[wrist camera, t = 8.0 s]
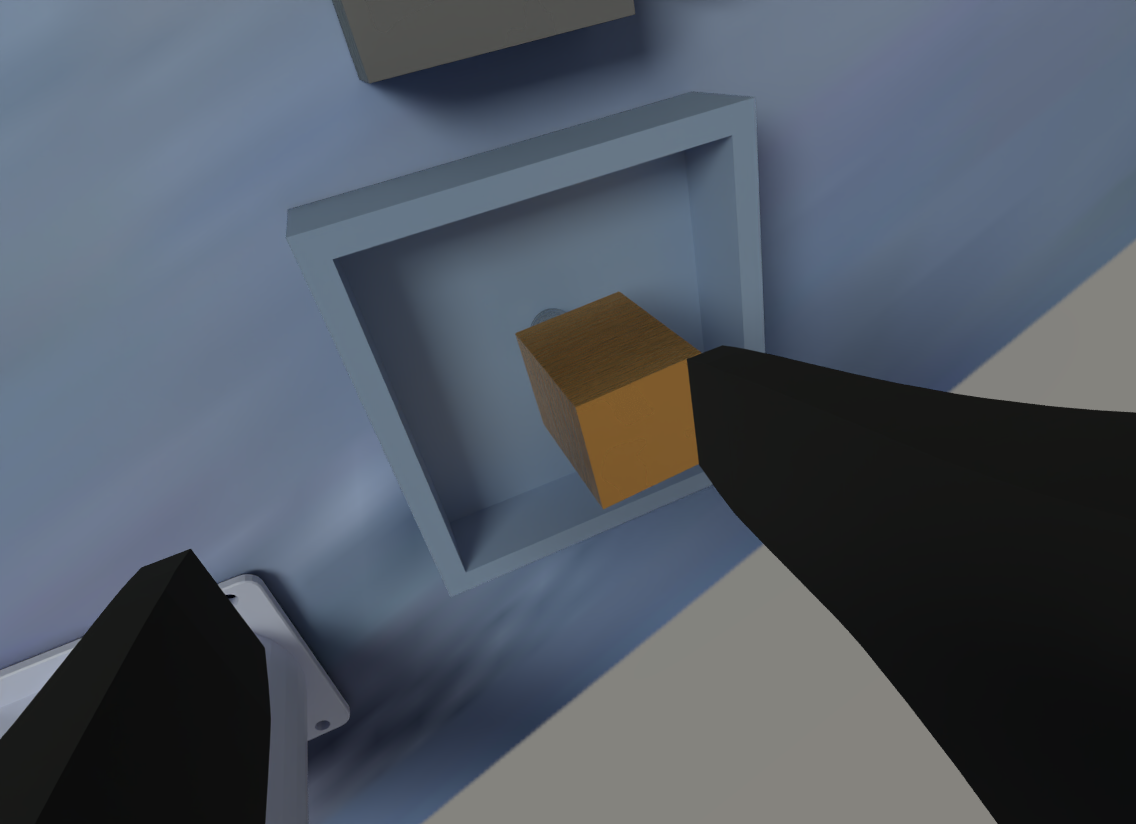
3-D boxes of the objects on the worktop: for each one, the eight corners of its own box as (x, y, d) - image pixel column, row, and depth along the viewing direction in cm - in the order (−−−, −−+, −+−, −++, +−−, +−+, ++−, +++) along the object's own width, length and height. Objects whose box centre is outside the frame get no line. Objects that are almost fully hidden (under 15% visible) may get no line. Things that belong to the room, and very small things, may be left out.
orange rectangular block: (517, 387, 20) (602, 509, 15) (489, 302, 18) (575, 407, 13) (603, 351, 20) (713, 456, 15) (584, 265, 19) (701, 352, 14)
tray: (433, 536, 22) (450, 597, 19) (287, 209, 16) (285, 237, 13) (721, 419, 24) (769, 460, 22) (692, 91, 18) (755, 96, 15)
